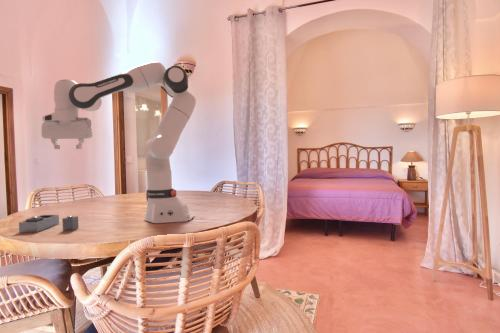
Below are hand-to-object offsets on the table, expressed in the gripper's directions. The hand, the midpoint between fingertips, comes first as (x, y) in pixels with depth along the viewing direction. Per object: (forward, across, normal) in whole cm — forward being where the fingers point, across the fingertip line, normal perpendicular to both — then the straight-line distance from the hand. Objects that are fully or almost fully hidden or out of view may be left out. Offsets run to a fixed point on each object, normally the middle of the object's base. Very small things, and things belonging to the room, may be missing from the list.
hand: (68, 149), depth 129 cm
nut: (+33, +8, +11) cm, 36 cm away
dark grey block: (+33, -6, +11) cm, 35 cm away
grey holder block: (+33, +8, +7) cm, 35 cm away
